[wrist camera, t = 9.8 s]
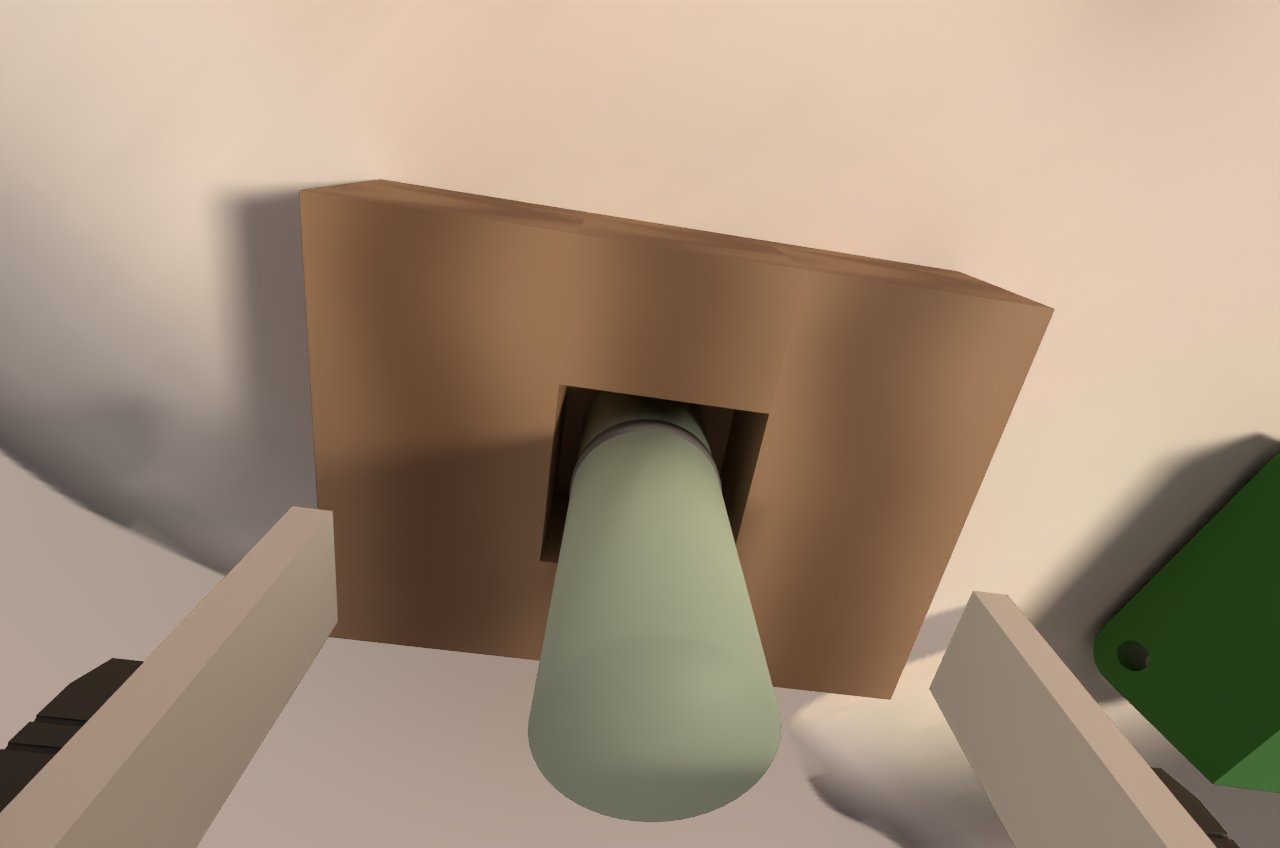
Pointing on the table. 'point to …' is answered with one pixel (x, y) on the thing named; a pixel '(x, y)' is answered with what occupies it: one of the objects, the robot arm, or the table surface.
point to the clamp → (1211, 642)
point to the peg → (650, 628)
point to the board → (652, 367)
